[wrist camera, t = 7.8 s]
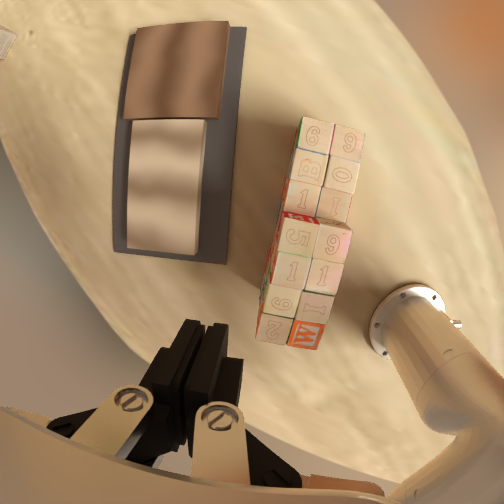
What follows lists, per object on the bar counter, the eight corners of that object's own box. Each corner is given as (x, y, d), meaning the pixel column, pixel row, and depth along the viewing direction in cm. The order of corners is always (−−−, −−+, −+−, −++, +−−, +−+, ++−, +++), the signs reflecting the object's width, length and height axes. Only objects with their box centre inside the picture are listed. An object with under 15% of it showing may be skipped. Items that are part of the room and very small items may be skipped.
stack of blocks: (295, 127, 34) (306, 108, 22) (345, 139, 34) (378, 128, 22) (259, 291, 40) (254, 341, 28) (305, 300, 40) (316, 352, 28)
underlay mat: (246, 28, 30) (246, 27, 30) (226, 263, 39) (225, 264, 39) (131, 36, 31) (130, 34, 31) (115, 250, 40) (113, 251, 39)
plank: (139, 122, 34) (132, 120, 32) (207, 122, 34) (203, 119, 32) (133, 244, 38) (127, 247, 36) (198, 251, 38) (194, 255, 36)
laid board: (230, 27, 30) (228, 21, 28) (220, 120, 34) (216, 117, 32) (143, 33, 31) (137, 28, 29) (130, 120, 34) (123, 119, 32)
